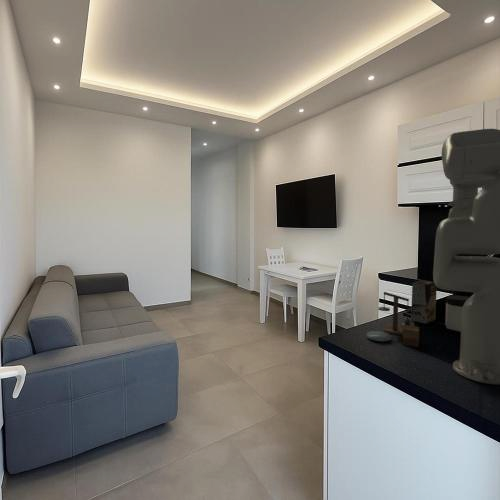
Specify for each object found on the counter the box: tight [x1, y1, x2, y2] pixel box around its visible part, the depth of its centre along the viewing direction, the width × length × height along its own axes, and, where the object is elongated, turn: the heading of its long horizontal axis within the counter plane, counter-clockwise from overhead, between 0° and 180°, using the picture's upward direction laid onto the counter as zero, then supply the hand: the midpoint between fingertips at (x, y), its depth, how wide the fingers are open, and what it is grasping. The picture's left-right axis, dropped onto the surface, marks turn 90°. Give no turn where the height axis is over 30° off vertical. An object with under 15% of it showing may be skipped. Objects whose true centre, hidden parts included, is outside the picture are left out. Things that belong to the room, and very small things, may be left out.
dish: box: [366, 330, 392, 343], centre depth 110 cm, size 8×8×1 cm
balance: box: [378, 291, 414, 337], centre depth 116 cm, size 4×12×15 cm, turn 58°
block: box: [402, 325, 420, 348], centre depth 105 cm, size 4×4×6 cm
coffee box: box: [410, 279, 438, 325], centre depth 130 cm, size 9×6×16 cm
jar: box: [444, 294, 470, 333], centre depth 120 cm, size 9×8×12 cm
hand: (462, 250), depth 116 cm, fingers open, 9 cm apart
